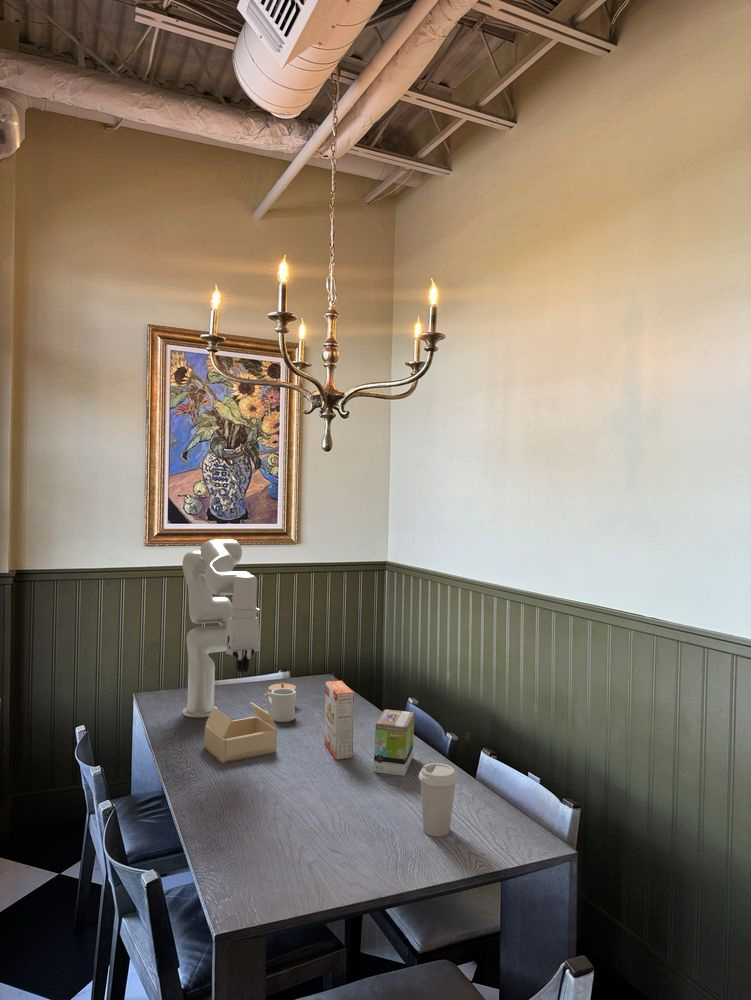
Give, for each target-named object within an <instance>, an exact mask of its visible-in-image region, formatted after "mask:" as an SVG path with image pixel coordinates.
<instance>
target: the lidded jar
mask: <svg viewBox="0 0 751 1000" xmlns="http://www.w3.org/2000/svg"><path fill="white" fill-rule="evenodd" d="M279 688H288V689H293V690H295V691H296V692H297V686H296V685H294V684H291V683H285V682H280V683H275V684H271V685H269V686H268V689H267V691H268V692H267V693H270V694H271V692H272V690H275V689H279ZM296 694H297V693H296ZM296 694H295V698H296V697H297V696H296ZM268 700H269V701H268V702H269V703H270V705H271V706H272V698H271V697H269V696H268Z"/></svg>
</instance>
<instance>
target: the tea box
mask: <svg viewBox="0 0 751 1000" xmlns="http://www.w3.org/2000/svg"><path fill="white" fill-rule="evenodd" d="M414 732H415V712H413V711H405V710H396V709H395V710H394V709H393V710H392V709H383V712H382V713H381V715H380V716H379V718H378V720H377V721H376V723H375V734H374V735H375V736H374V750H373V751H374V752H373V754H374V755H373V772H374V773H377V774H378V773H379V774H385V775H386V774H387V775H393V776H403V777H404V776H405V775H406V774H407V771H408V769H409V766H410V765H411V762H412V759H413V755H414V736H415V735H414Z"/></svg>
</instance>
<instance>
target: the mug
mask: <svg viewBox="0 0 751 1000" xmlns="http://www.w3.org/2000/svg"><path fill="white" fill-rule="evenodd" d="M295 694H297V690H296V691H295V690H293V689H288V688H279V689H275V690H272V692H271V694H270V693H268V692H266V693H264V694H263V696H262V701H264V704H263V705H262V708H261V709H263V710H265V711H266V712H268V713H269V714H270V716H271V718H272V720H273V721H274V722H277V723H278V722H279V723H288V722H292V721H294V719H295V718H296V703H295V701H296V697H295ZM267 696H268V698H269V697H271V698H272V705H271V707H269V709H268V710H267V709H266V707H267V706H268V704H269V701H268V700H267V698H266V697H267Z"/></svg>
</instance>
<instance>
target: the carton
mask: <svg viewBox="0 0 751 1000" xmlns="http://www.w3.org/2000/svg"><path fill="white" fill-rule="evenodd" d="M277 741H278V730H277V728H275V727H274V726H272V725H271V724H269V723H268V722H266V721H265V720H263V719H262V718H260V717H259V716H252V717H246V718H240V719H234V720H232V722H231V724H230V726H229V728H228V730H227V732H226V734H225V736H224V737H221V736H220V735H219V734H218V733H216V732H215V731H214V730H213V729H211V728H210V727H209V726H208V725H206V724H205V726H204V749H206V750H207V751H208V752H209V753H210V754H211V755H212V756H214V758H216V759H217V760H218V761H219V762H220V763H221V764H227V763H230V762H234V761H235V762H237V761H239V760H245V759H249V758H254V757H258V756H259V757H260V756H263V755H269V754H273V753H277V747H278V745H277V743H278V742H277Z"/></svg>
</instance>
